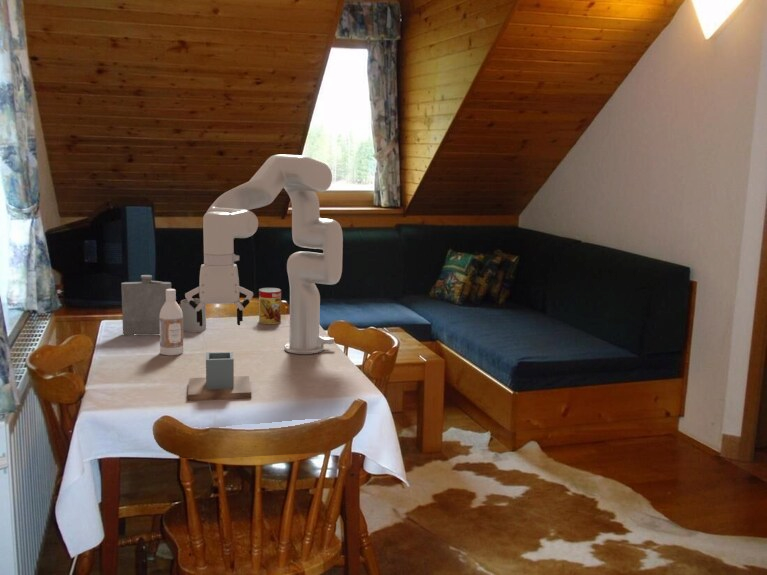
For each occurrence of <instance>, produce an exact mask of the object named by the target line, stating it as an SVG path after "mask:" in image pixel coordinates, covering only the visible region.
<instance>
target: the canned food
mask: <svg viewBox="0 0 767 575" xmlns="http://www.w3.org/2000/svg"><path fill="white" fill-rule="evenodd" d="M281 310H282V289H280V288H279V287H278V288H277V287H262V288H259V289H258V322H259V323H260V324H261V325H262V324H263V325H276V324H277V323H278V324H280V323H281V319H282V314H281V313H282V311H281ZM278 324H277V325H278Z"/></svg>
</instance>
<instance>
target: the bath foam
mask: <svg viewBox="0 0 767 575" xmlns="http://www.w3.org/2000/svg"><path fill="white" fill-rule="evenodd" d="M176 293H177V290H176V289H175V288H171V289H166V302H165V304H164V305H163V307H162V308H161V311H160V316H159V323H160V335H159V350H160V352H159V353H160V354H161V355H164V356H167V357H169V356H170V357H171V356H172V357H173V356H178V355H181V354H183V352H184V331H183V313H182V310H181V305H179V304H178V302H177V301H176V300H177V296H176V295H177V294H176Z"/></svg>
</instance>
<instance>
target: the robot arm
mask: <svg viewBox="0 0 767 575" xmlns="http://www.w3.org/2000/svg"><path fill="white" fill-rule="evenodd" d="M332 182H333V172H332V170H331V168H330V167H329V165H328V164H327V163H324V162H322V161H319V160H316V159H314V158H311V157H309V156H306V155H301V154H300V155H299V154H274V155H270V157H268V158H267V159H266V160H265V162H264V163H263V164H262V166H260V168H259V169H258V170H257V171H256V172H255V174H254V175H253V176H252V177H251V178H250V179H249V181H247V182H244V183H242V184H239V185H238V186H236V187H233V188H231V189H230V190H228V191H225V192H224V193H222V194H221V195H220V196H218V197H217V198H216V199H215V201H213V203H211V205H210V206H209V208H208V209H207V211H206V213H204V215H203V218H202V220H203V221H202V224H203V225H202V226H203V229H202V231H203V236H202V237H203V264H201V265H200V270H199V284H198V286H197V287H195V288H193V289H191V290H189V291H188V292H185V293H184V296H185V299H187V301H188V302H189V304H190V305H191V306H192V307H193V308H194V309H195V310H196V311H197V322H200V326H202V309H201V308H202V307H203V306H204V305H205V304H206V305H223V304H224V305H226V304H227V305H228V304H229V305H230V304H233V305H235V306H236V307H237V308H236V324H237V325H238V326H241V322H243V321H244V319H243V317H244V315H243V314H244V313H243V312H244V309H245V308H246V307H248V305H249V304H250V302H251V301H252V298H253V297H254V292H253V291H251V290H249V289H247V288H245V287H243V286H240V279H239V270H238V265H237V264H236V263H235V262H238V261H240V255H238V254H235V252H234V251H235V250H234V249H235V248H234V240H235V239H247V238H249V237H252V236H254V234H255V233H256V232H257V230H258V227H259V220H258V217H257V215H256V214H255V213H254V212H253V211H251V210H253V209H254V210H255V209H259V208H263V207H266V206H268V205H270V204H272V203H273V202H274V201H275V199H276V198H277V197H278V195H279V194H280V192H281V191H282V190H283V189H284V190H285V192H286V193H287V195H288V196H289V199H290V202H291V234H292V235H291V236H292V241H293V243H294V245H296V246H297V247H300V248H305V249H306V248H307V249H314V250H317V249H318V250H322V251H323V252H313V251H306V250H305V251H296V252H294V253H292V254H290V255H289V257H288V259H287V260H286V261H287V262H286V272H287V276H288V283H289V336H288V337H289V338H288V340H289V342H287V343H286V344H285V345H283V346H284V351H286V352H288V353H290V354H296V355H297V354H298V355H312V354H313V353H314V354H318V352H319V353H322V352H323V351H324V349H325V345H334V344H335V338H334V337H329V336H328V337H326V336H324V337H322V336H321V334H320V318H321V317H320V313H321V312H320V310H321V308H320V307H321V305H320V304H321V295H320V291H319V289H318V287H317V285H316V284H321V285H330V286H332V285H336V284H337V283H339V282H340V279H341V277H342V273H343V255H344V254H343V253H344V252H343V248H344V245H343V244H344V243H343V242H344V236H343V229H342V226H341V224H340V223H339V222H338V221H337V220H335V219H333V218H331V219H330V218H322V217H321V216H320V213H321V212H320V200H319V197H318V196H317V193H324V192H326V191H327V190H329V188H330V187H331V185H332ZM197 294H198V295H199V299H200V301H199V302H198V304H197V303H196V302H195V301H194V300H193V299H194V298H193V297H194V296H195V295H197ZM240 294H244V295H245V296H246V297H245V299H244V300H243V301H242V302H241V300H240ZM314 354H313V355H314Z"/></svg>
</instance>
